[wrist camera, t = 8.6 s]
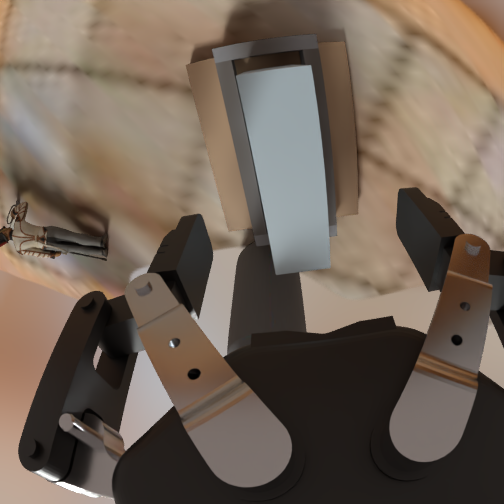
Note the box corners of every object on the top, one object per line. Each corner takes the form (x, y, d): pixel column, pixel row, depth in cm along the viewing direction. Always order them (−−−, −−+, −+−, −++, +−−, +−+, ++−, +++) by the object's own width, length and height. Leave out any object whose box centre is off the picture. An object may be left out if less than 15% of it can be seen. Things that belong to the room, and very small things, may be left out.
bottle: (244, 289, 31) (234, 429, 19) (230, 244, 27) (208, 397, 15) (300, 282, 30) (315, 423, 18) (293, 234, 26) (312, 390, 14)
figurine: (113, 209, 29) (0, 200, 24) (109, 201, 26) (-14, 193, 20) (107, 263, 29) (-6, 251, 24) (102, 263, 25) (-22, 250, 20)
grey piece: (339, 36, 16) (351, 32, 13) (354, 212, 25) (364, 232, 22) (188, 58, 18) (176, 58, 15) (231, 228, 26) (227, 250, 24)
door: (292, 64, 17) (310, 65, 10) (312, 203, 23) (330, 267, 17) (245, 71, 17) (235, 76, 11) (272, 208, 24) (275, 274, 17)
